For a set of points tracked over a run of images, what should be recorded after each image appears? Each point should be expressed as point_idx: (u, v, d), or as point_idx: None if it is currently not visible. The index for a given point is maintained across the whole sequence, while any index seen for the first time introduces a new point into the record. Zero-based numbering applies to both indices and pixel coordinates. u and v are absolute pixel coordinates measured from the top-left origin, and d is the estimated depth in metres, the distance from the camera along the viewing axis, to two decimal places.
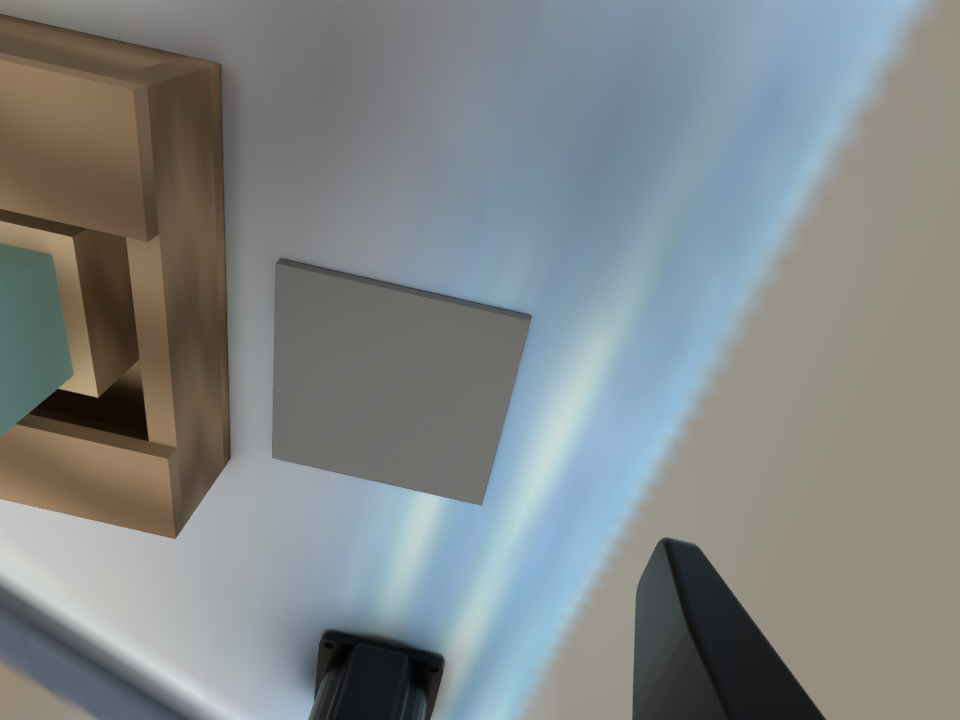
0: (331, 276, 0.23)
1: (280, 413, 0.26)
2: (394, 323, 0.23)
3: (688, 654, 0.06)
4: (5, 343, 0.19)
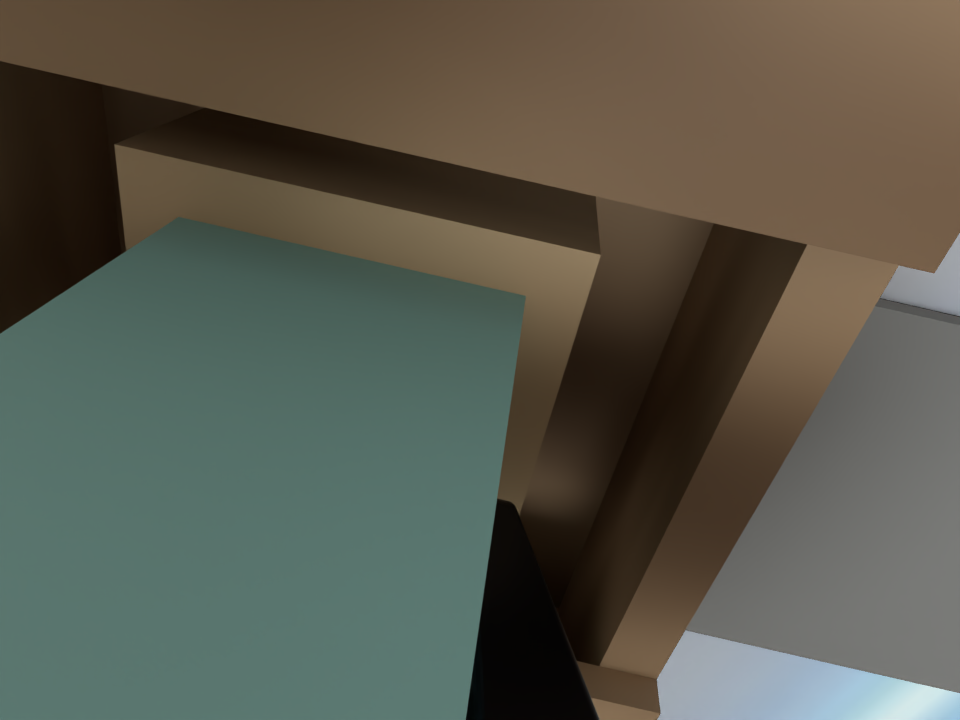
0: None
1: (732, 564, 0.14)
2: None
3: None
4: None
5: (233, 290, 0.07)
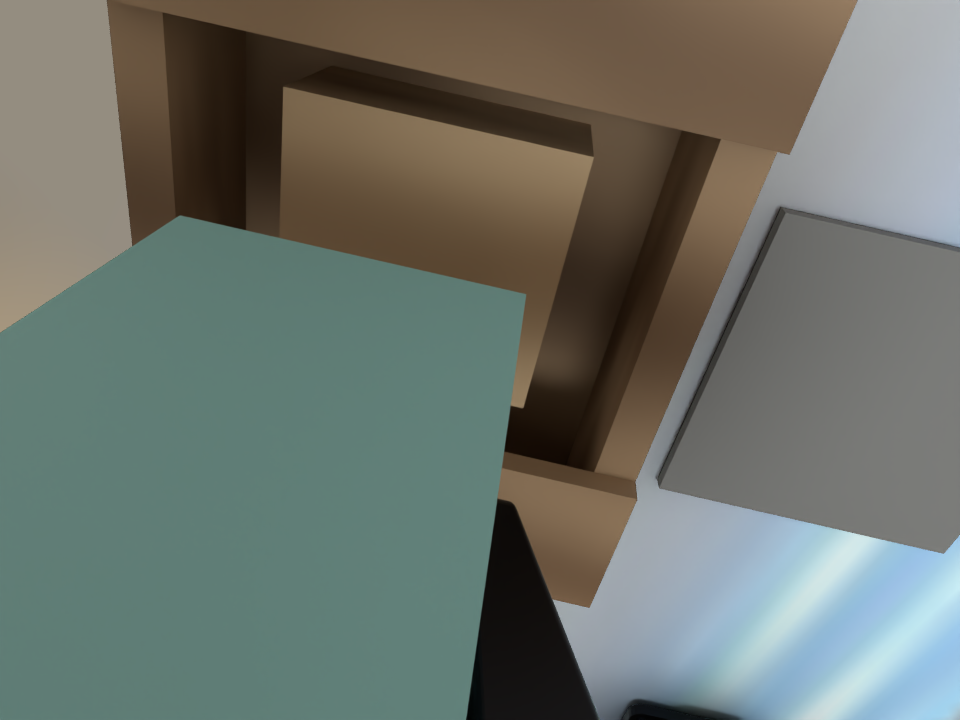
0: (866, 232, 0.15)
1: (697, 429, 0.19)
2: (935, 301, 0.16)
3: None
4: None
5: (234, 288, 0.07)
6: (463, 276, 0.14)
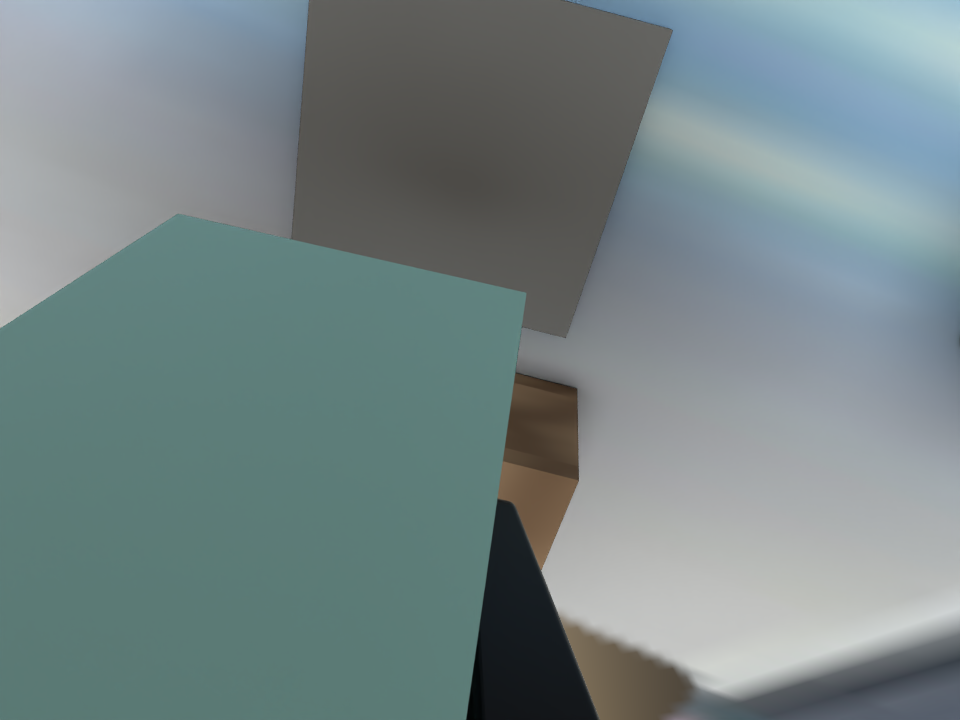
0: (294, 208, 0.20)
1: None
2: (344, 139, 0.18)
3: None
4: None
5: (232, 287, 0.07)
6: None
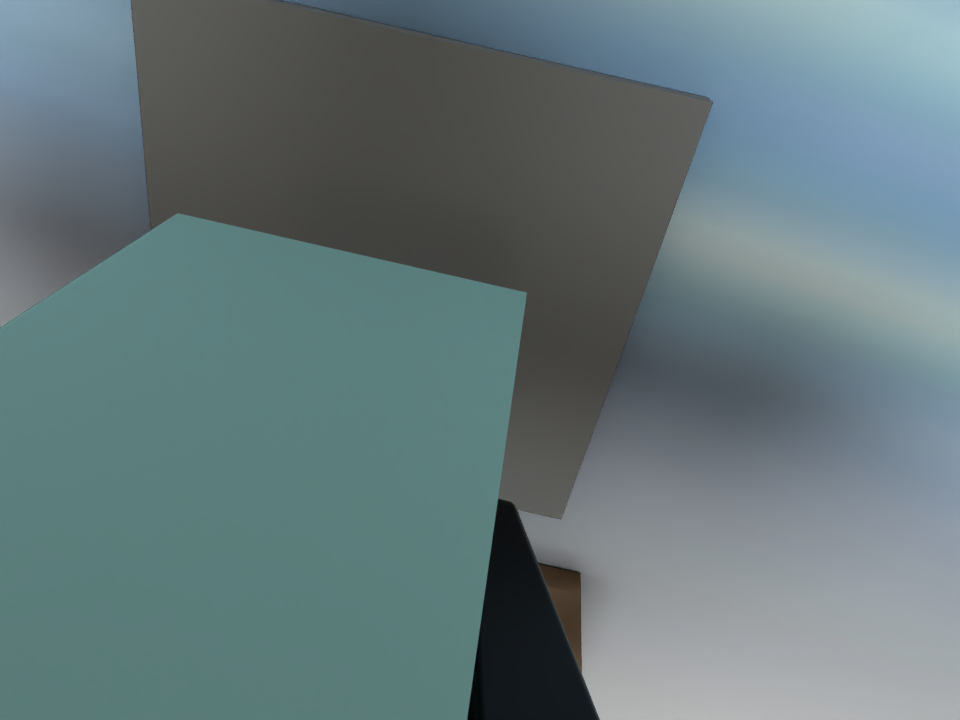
0: None
1: None
2: None
3: None
4: None
5: (232, 286, 0.07)
6: None
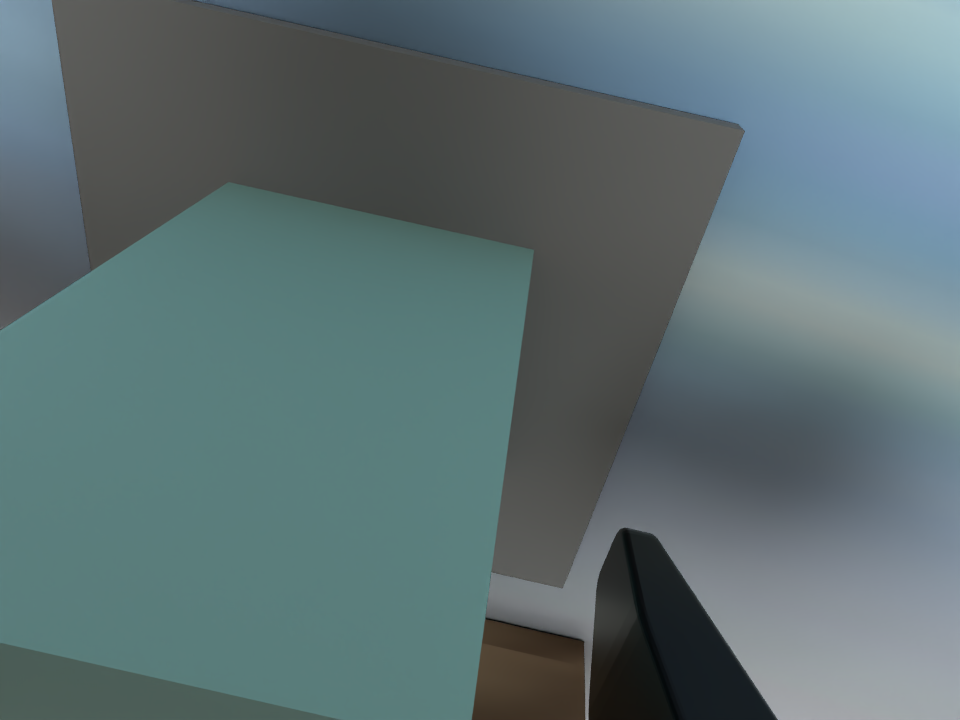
0: None
1: None
2: None
3: (637, 642, 0.06)
4: None
5: (283, 239, 0.08)
6: None
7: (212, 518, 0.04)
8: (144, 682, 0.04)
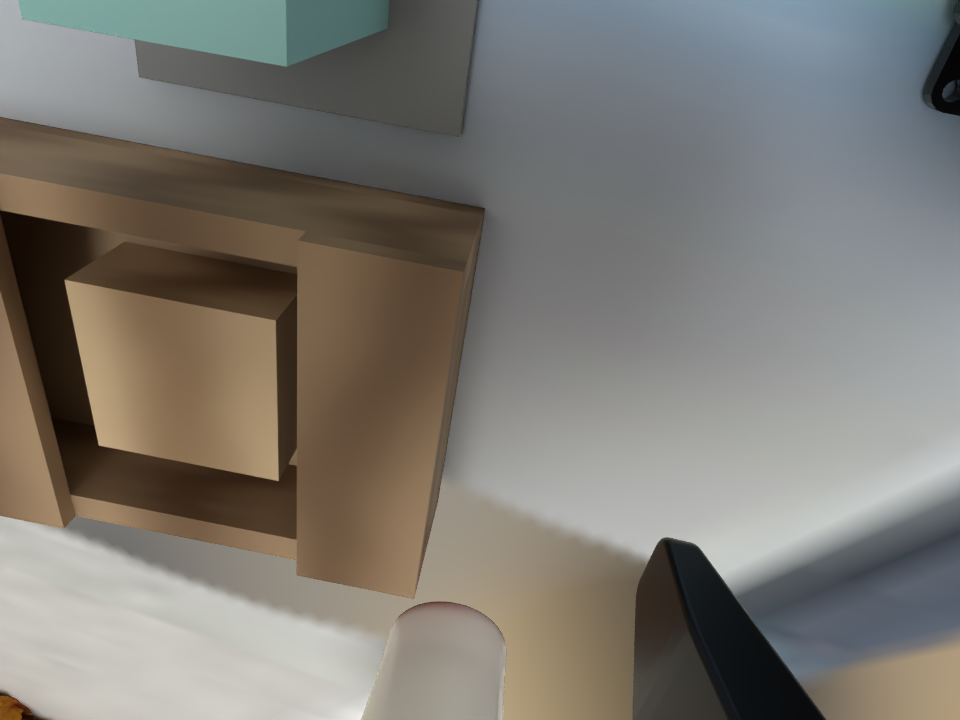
0: None
1: (371, 108, 0.18)
2: None
3: (688, 654, 0.06)
4: None
5: None
6: (176, 360, 0.19)
7: None
8: None
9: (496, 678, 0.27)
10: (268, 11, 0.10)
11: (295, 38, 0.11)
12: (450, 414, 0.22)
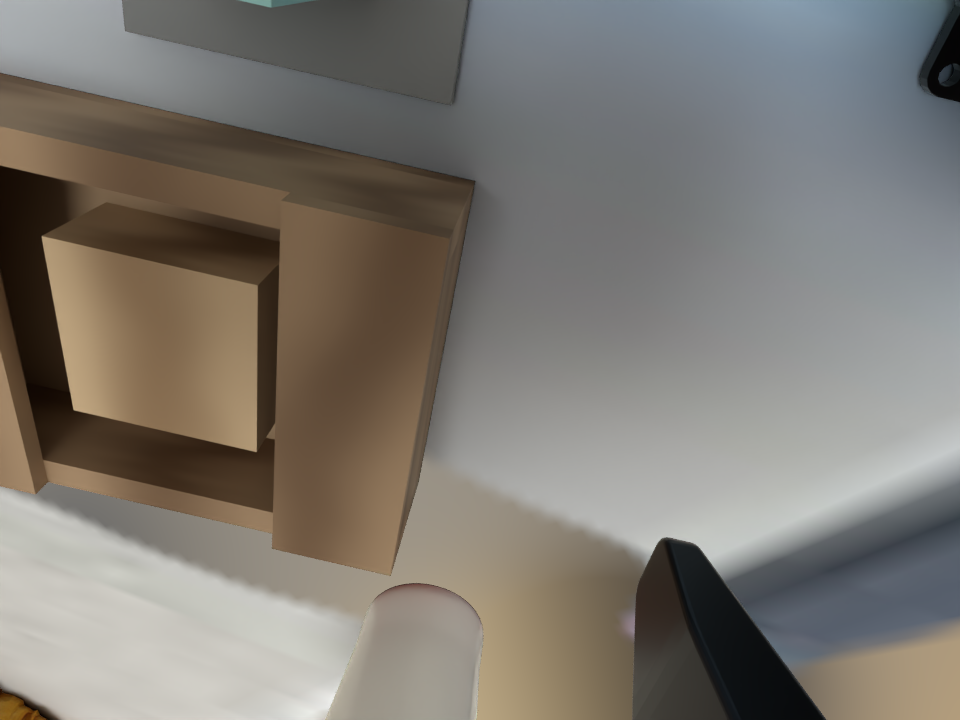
0: None
1: (362, 72, 0.17)
2: None
3: (688, 654, 0.06)
4: None
5: None
6: (155, 323, 0.19)
7: None
8: None
9: (472, 661, 0.27)
10: None
11: None
12: (433, 391, 0.22)
